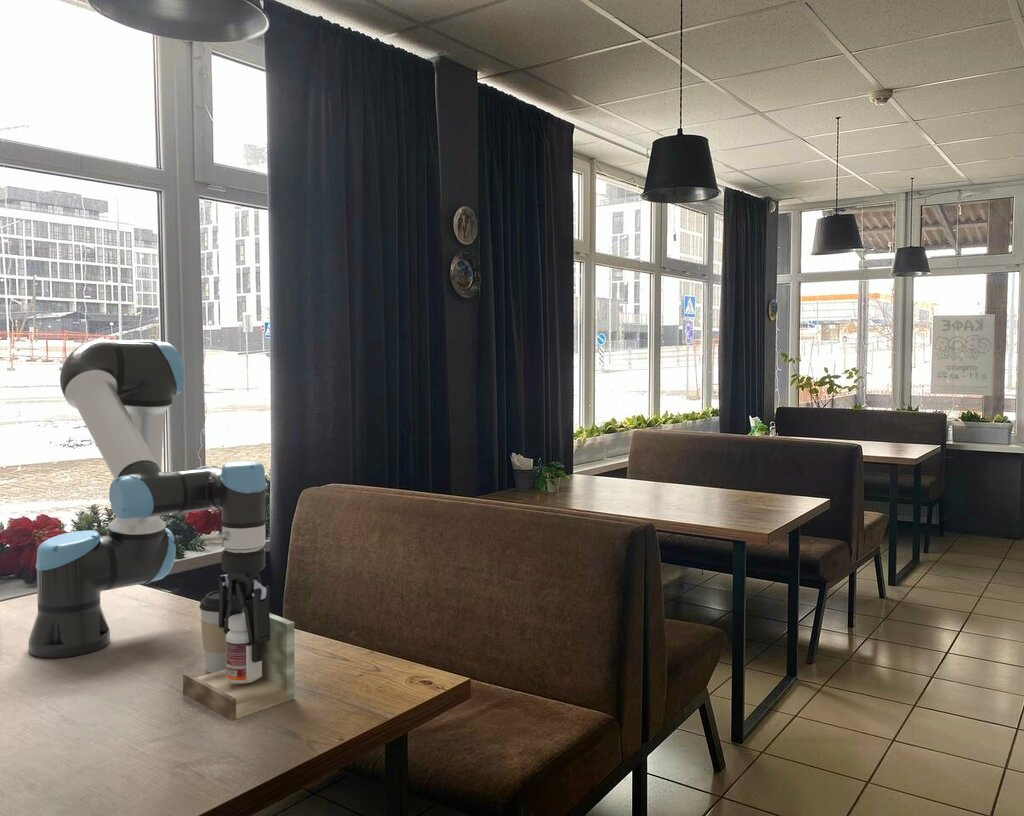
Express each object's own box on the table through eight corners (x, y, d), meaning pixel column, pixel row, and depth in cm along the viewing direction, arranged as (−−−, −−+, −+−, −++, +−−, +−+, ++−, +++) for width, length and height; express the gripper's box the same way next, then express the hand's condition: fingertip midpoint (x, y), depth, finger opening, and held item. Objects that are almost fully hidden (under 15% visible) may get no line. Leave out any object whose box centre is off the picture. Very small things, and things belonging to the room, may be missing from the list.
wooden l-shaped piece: (182, 692, 150) (182, 617, 149) (243, 673, 159) (243, 602, 159) (231, 720, 139) (231, 639, 138) (294, 698, 148) (294, 622, 147)
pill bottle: (263, 681, 148) (263, 620, 148) (227, 686, 146) (226, 624, 145) (259, 669, 154) (259, 610, 153) (224, 674, 152) (224, 613, 151)
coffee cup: (232, 677, 158) (232, 600, 157) (190, 673, 159) (189, 597, 158) (256, 660, 166) (256, 587, 165) (216, 656, 168) (215, 584, 167)
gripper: (197, 542, 152) (198, 665, 153) (253, 560, 139) (253, 694, 141) (234, 536, 158) (235, 654, 159) (291, 553, 145) (291, 681, 146)
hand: (243, 672), depth 150 cm, fingers closed on pill bottle, 6 cm apart
